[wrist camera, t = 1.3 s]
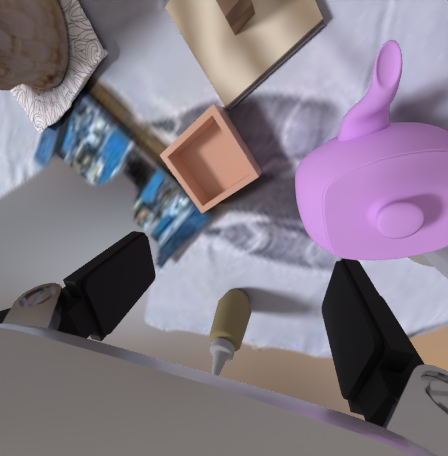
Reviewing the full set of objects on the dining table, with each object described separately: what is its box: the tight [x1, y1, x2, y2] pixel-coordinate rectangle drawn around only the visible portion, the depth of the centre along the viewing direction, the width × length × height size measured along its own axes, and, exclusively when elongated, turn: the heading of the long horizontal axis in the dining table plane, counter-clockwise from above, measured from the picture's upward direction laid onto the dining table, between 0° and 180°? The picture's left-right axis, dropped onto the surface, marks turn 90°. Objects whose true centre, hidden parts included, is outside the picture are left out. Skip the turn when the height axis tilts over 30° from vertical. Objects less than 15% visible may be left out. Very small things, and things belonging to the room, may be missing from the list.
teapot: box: [295, 40, 448, 260], centre depth 23 cm, size 23×21×15 cm
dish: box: [160, 104, 262, 213], centre depth 33 cm, size 12×12×5 cm
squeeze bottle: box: [210, 289, 251, 376], centre depth 41 cm, size 8×8×18 cm
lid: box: [165, 0, 323, 108], centre depth 23 cm, size 15×15×6 cm
